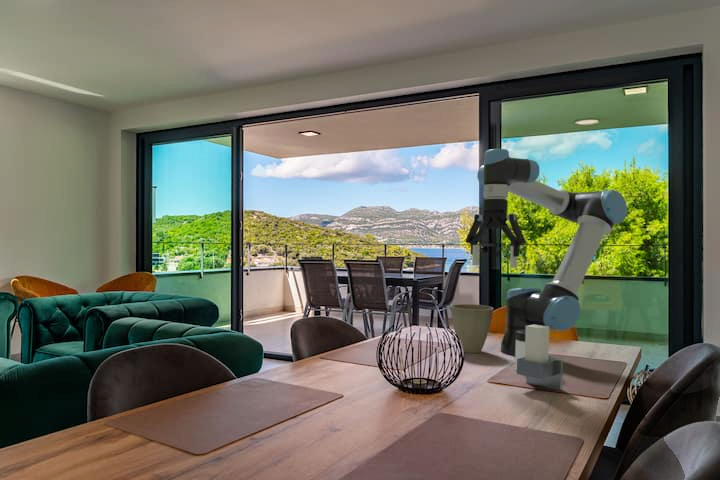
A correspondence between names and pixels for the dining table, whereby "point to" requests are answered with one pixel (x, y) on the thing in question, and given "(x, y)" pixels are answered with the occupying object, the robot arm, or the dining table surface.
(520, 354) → the jar
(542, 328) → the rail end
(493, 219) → the robot arm
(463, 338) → the plant pot
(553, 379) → the cup bracket
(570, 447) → the dining table surface
